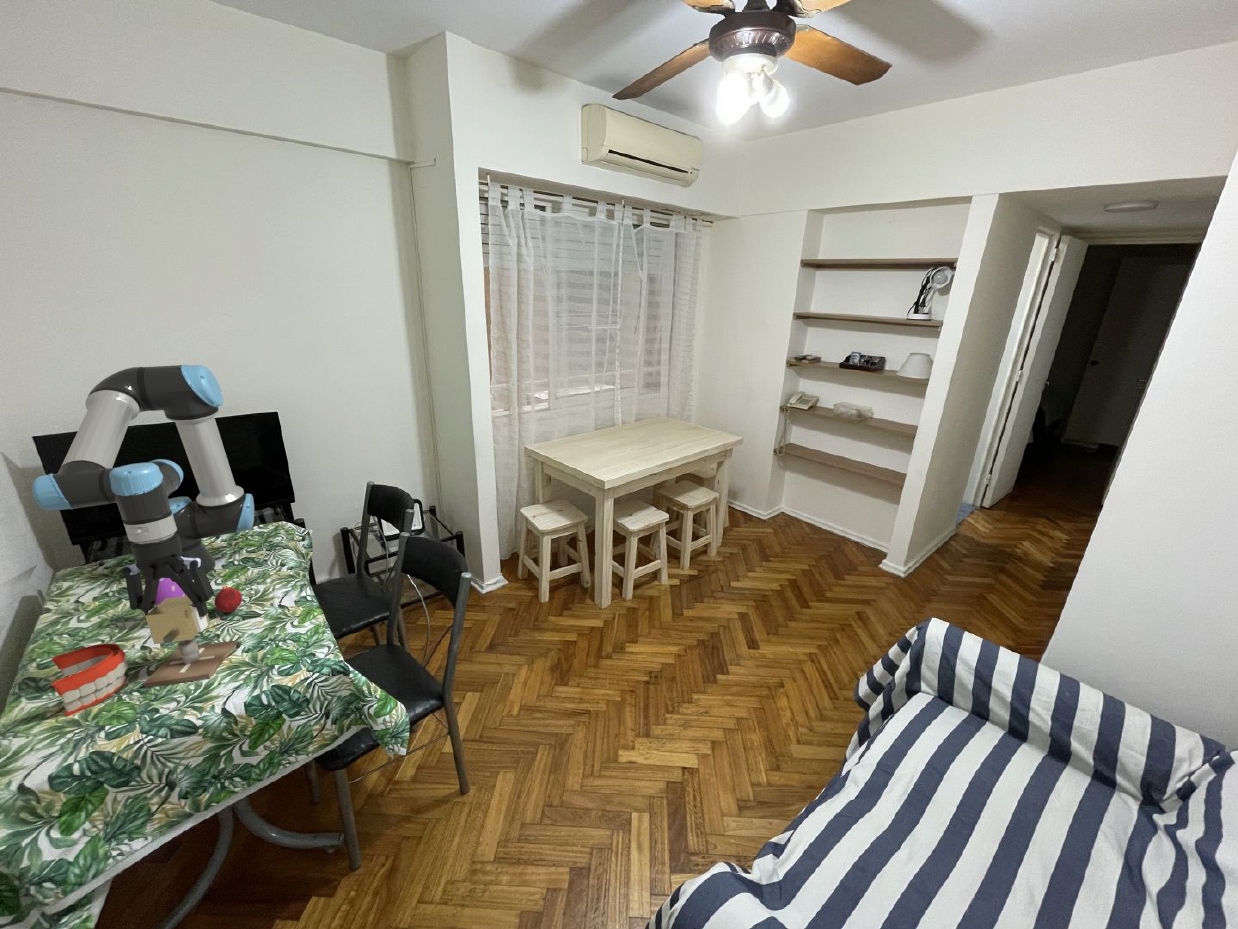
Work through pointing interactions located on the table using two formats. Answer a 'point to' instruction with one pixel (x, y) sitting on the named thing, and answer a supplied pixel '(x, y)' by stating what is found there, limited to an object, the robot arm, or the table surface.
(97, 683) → the toy
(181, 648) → the flat board
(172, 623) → the block with peg
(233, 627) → the table surface
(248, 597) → the table surface
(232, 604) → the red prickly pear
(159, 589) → the toy
